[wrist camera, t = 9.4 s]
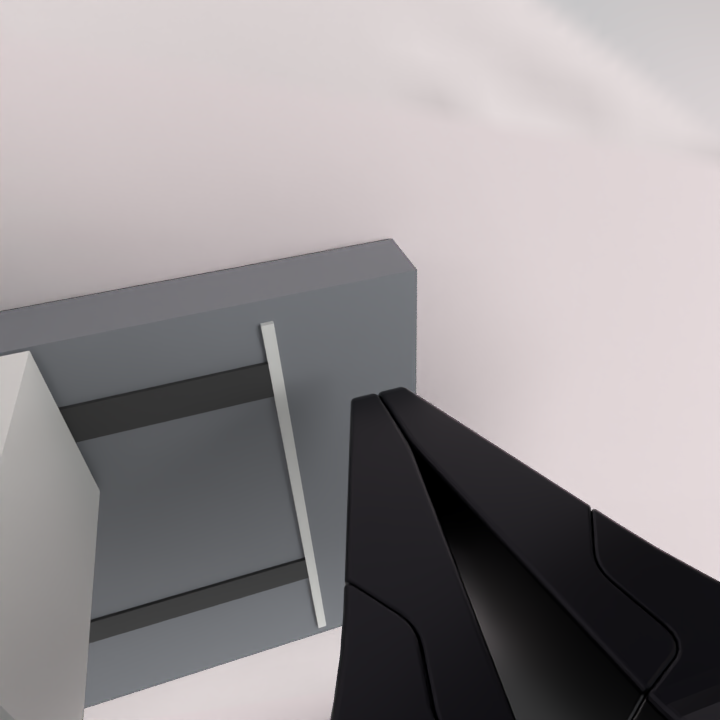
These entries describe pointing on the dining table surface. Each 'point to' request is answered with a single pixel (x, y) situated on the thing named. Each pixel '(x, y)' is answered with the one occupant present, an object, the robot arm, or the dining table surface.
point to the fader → (42, 551)
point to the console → (220, 448)
